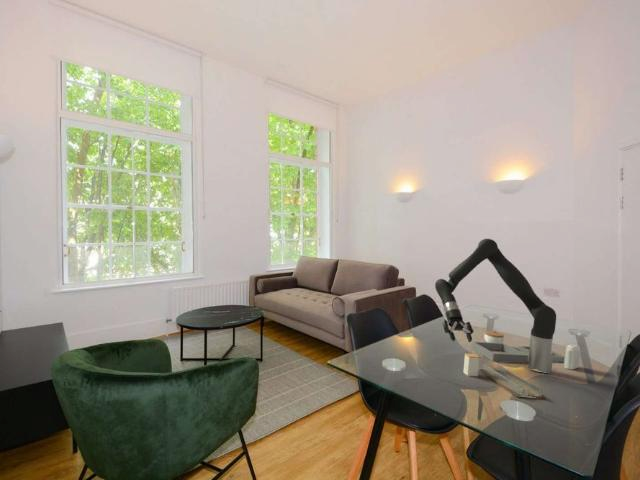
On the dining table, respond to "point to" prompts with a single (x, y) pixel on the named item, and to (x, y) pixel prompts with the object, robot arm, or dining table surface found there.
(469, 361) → the block
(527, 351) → the small tray rim
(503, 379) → the rail board
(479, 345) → the large tray rim
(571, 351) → the white ridged block
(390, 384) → the dining table surface
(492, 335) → the lidded jar
